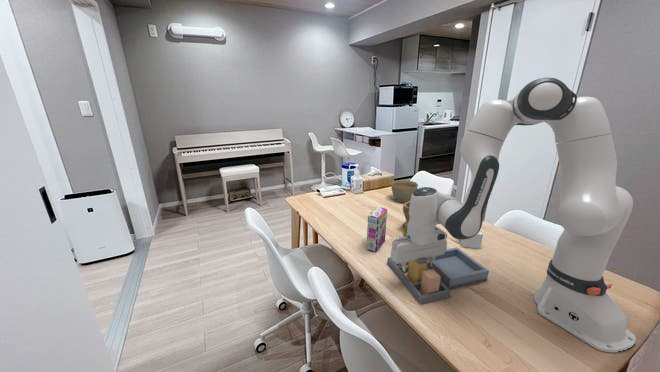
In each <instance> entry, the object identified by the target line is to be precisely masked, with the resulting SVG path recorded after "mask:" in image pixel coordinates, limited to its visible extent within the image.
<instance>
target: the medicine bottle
mask: <svg viewBox="0 0 660 372" xmlns="http://www.w3.org/2000/svg"><path fill="white" fill-rule="evenodd" d="M483 236H484V235H483V233H482V231H481V230H480V231H479V232H478V233H477V234H476V235H475V236H474V237H472V238H469V239H463V240H460V239H458V241H459V242H460V244H461V246H462V247H463V248H468V249H470V248H471V249H478V250H479V249H481V246H482V241H483Z"/></svg>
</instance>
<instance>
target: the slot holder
mask: <svg viewBox="0 0 660 372" xmlns="http://www.w3.org/2000/svg"><path fill="white" fill-rule="evenodd" d="M386 262H387V265H388V266H389V267H390V268H391V270H392V271H393V272H394V273H395V275H396V276H397V277H398V279H399V280H400V281H401V282H402V283H403V284H404V286H405V287H406V289H407V290H409V292H410V293H411V295H412V296H413V297H414V299H415V300H416V301H417V302H418V303H419V304H420V305H425V304H429V303H433V302H436V301H441V300H445V299H449V298H451V292H452V291H451V290H450V289H449V288H448V287H447V286H446V285H445V284H444V283H443V282H442V281H441V280H440V285H439V292H435V293H431V294H427V295H423V294H422V292H421V291H420V289H421V282H416V283H414V282H412V281H410V279H409V277H407V276H406V275H405V274H404V273H408V271H406V272H404V271H403V270H402V265H401V266H398V265H397V264H396V263H395V262H394V261H393V260H392V259H391V256H390V257H387V261H386ZM406 265H407V266H408V265H409V264H406ZM427 270H429V269H428V268H427V267H426V271H427Z"/></svg>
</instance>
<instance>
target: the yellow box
mask: <svg viewBox="0 0 660 372" xmlns="http://www.w3.org/2000/svg"><path fill="white" fill-rule="evenodd" d="M426 263H427V259H426V258H425V257H424V258H419V259H417V260H414V261H409V265H408V267H409V269H408V272H407V276H408V278H410V279H411V280H412V282H413V283H416V282H421V281H422V272H423V271H426Z"/></svg>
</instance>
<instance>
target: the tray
mask: <svg viewBox="0 0 660 372" xmlns="http://www.w3.org/2000/svg"><path fill="white" fill-rule="evenodd" d="M426 259H427V260H428V258H426ZM426 267H427V266H426ZM427 268H428V269H429V270H431V269H433V270H434V271H435V272H437V273H438V274H439V275H440V276H441V278H440V281H441V282H442V283H443V284H444V285H445V286H446V287H447V288H448V289H449V290H450V289H455V288H460V287H465V286H468V285H472V284H476V283H480V282H481V283H482V282H486V281H488V278H489V272H490V270H489V269H487V268H486V267H484V266H483V265H482V264H481V263H480V262H478V261H476V259H474V258H472V257H471V256H470V255H469V254H467V253H466V252H464V251H463V250H461V249H460V248H459V247H451V248H446V252H445V253H444V255H440V256H436V258H435V260H434V261H433V262H432V266H430V267H427Z"/></svg>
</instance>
